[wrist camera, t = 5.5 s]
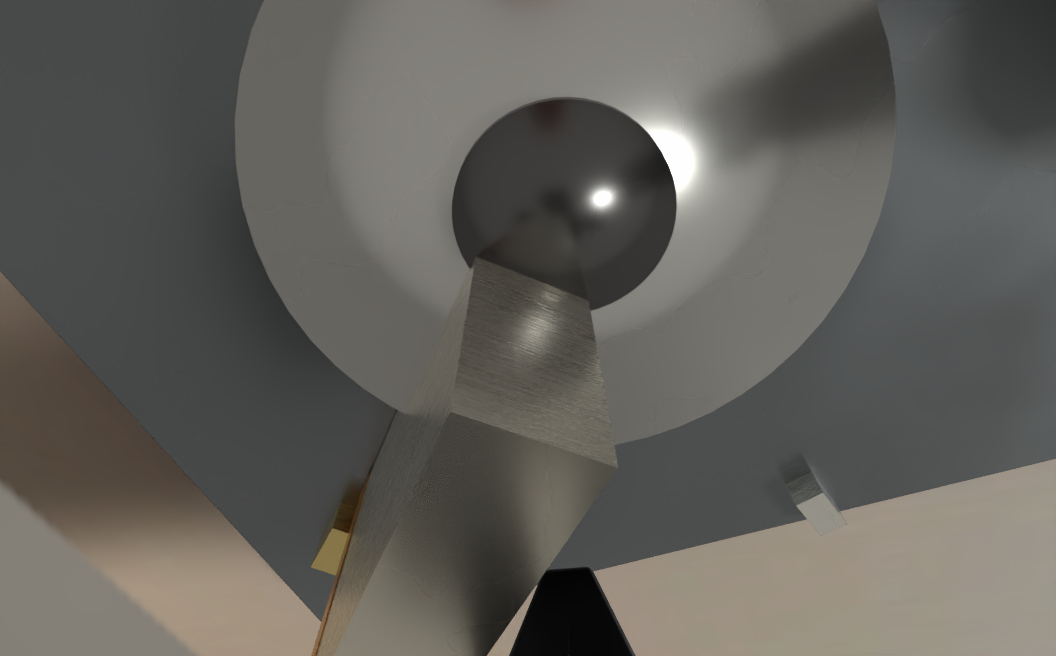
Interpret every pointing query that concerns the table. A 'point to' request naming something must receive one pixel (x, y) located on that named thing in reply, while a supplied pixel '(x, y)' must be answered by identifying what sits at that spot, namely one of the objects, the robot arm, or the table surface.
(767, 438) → the panel
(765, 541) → the table surface
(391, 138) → the dial
